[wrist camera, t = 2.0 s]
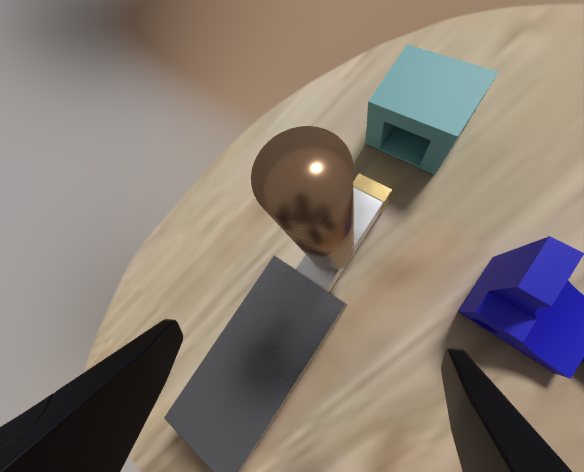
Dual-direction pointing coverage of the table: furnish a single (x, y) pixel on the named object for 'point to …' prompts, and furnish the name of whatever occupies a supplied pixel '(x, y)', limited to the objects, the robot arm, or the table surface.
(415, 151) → the teal block with slot
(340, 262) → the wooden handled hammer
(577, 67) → the table surface
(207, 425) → the gray rectangular tube
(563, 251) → the cable clip
